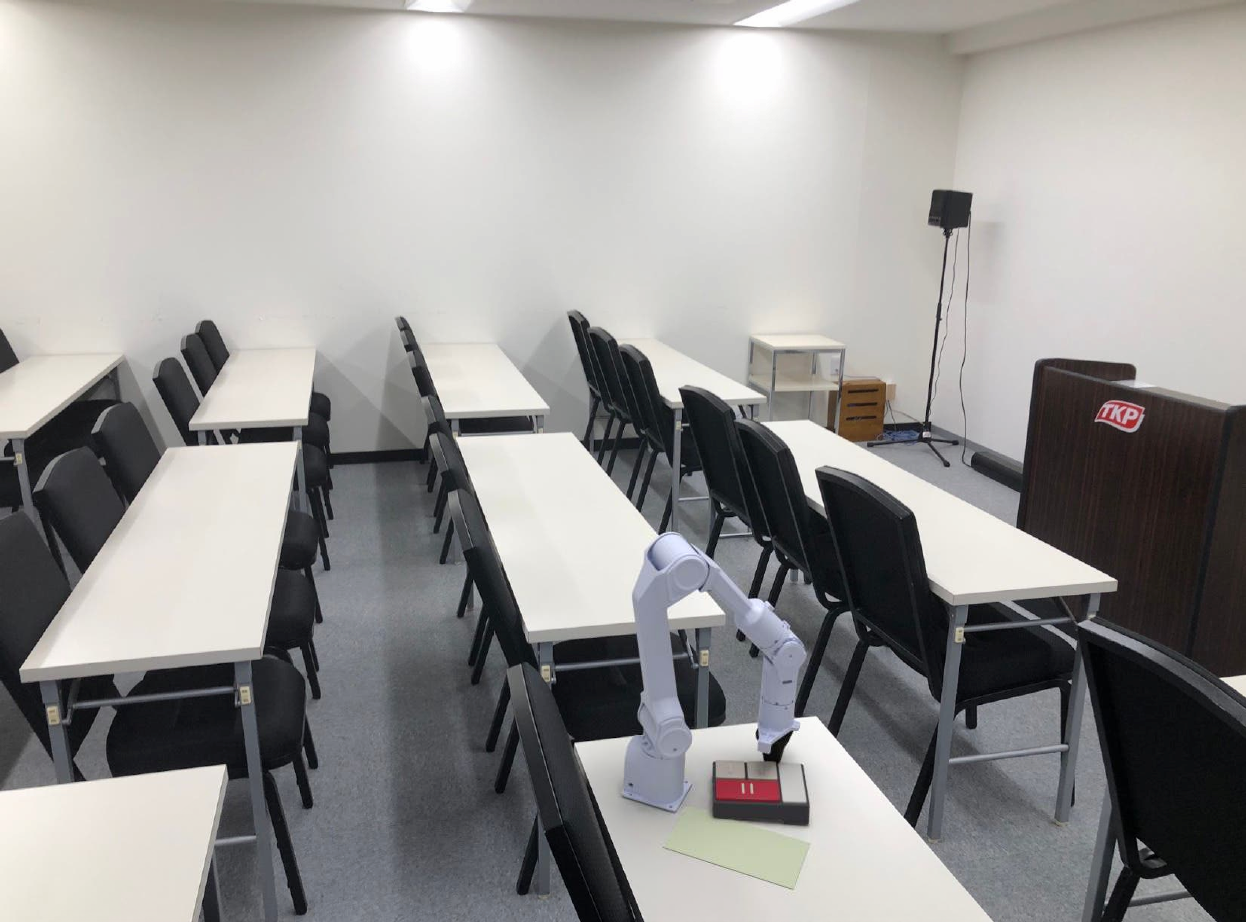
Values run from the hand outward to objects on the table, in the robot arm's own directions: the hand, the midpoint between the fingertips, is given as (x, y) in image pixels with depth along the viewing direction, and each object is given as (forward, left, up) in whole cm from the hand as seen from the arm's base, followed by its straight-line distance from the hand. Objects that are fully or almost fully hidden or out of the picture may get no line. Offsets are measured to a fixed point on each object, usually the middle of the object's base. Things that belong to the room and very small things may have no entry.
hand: (771, 766), depth 160 cm
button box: (0, -8, -2) cm, 8 cm away
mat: (0, -19, -1) cm, 20 cm away
